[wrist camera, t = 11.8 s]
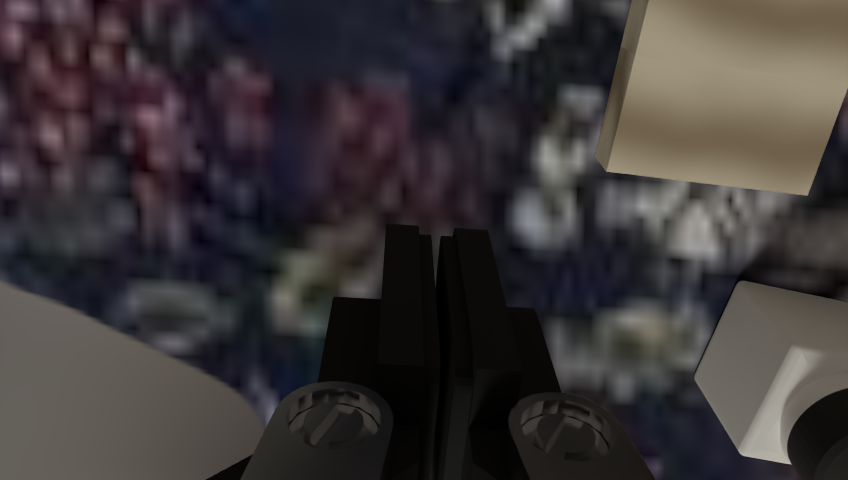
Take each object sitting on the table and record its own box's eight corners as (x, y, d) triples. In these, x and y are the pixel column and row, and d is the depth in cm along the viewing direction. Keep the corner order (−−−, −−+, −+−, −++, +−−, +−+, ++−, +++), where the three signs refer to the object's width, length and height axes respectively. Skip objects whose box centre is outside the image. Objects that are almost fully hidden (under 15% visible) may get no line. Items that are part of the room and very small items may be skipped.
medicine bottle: (690, 378, 44) (782, 530, 33) (736, 277, 41) (854, 407, 30) (796, 398, 45) (921, 553, 34) (849, 300, 42) (1003, 436, 31)
